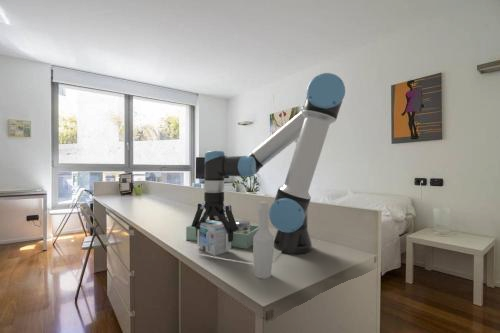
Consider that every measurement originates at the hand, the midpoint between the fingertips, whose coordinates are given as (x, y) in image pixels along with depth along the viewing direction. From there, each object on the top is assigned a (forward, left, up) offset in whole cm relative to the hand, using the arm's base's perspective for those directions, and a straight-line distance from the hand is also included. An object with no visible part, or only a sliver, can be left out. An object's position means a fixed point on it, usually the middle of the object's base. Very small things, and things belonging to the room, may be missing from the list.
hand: (213, 247), depth 98 cm
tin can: (-4, -15, -1) cm, 15 cm away
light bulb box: (0, 0, -2) cm, 2 cm away
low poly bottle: (-25, +12, -2) cm, 28 cm away
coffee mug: (+20, -35, -2) cm, 41 cm away
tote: (+4, -15, -1) cm, 15 cm away
